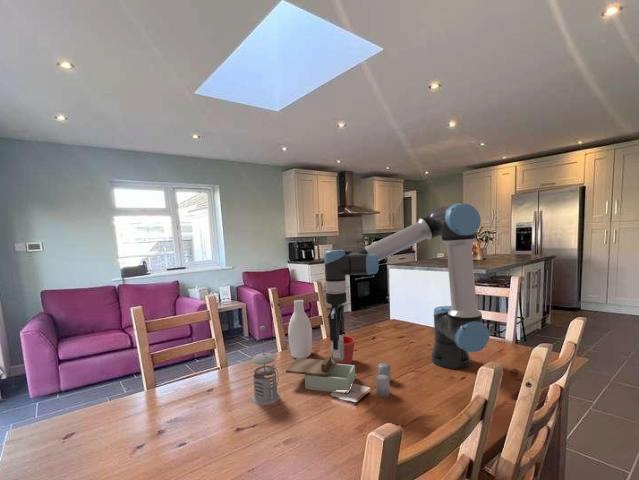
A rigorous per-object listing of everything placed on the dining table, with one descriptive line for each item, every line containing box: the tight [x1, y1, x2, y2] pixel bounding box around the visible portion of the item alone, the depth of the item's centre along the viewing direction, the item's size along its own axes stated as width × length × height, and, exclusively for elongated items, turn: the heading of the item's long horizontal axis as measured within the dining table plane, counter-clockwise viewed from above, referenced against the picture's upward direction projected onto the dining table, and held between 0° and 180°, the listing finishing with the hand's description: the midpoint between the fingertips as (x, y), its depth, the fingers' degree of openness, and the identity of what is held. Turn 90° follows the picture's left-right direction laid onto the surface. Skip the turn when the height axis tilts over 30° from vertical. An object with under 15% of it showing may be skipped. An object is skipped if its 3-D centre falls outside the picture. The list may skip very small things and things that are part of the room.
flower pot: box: [329, 335, 356, 365], centre depth 136 cm, size 11×11×10 cm
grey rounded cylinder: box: [375, 374, 391, 398], centre depth 108 cm, size 5×5×6 cm
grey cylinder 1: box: [330, 341, 344, 361], centre depth 116 cm, size 5×5×6 cm
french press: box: [251, 325, 281, 406], centre depth 108 cm, size 10×12×25 cm
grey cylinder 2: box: [377, 362, 392, 383], centre depth 118 cm, size 5×5×6 cm
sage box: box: [304, 364, 356, 393], centre depth 117 cm, size 16×12×5 cm
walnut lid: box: [285, 355, 336, 377], centre depth 119 cm, size 16×12×3 cm
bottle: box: [287, 299, 313, 359], centre depth 146 cm, size 11×11×25 cm
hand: (338, 354), depth 116 cm, fingers closed on grey cylinder 1, 4 cm apart
